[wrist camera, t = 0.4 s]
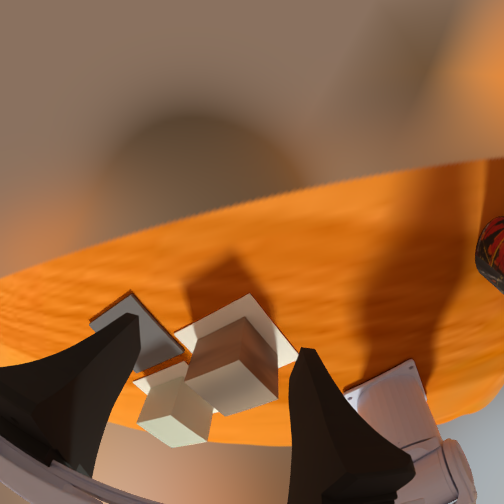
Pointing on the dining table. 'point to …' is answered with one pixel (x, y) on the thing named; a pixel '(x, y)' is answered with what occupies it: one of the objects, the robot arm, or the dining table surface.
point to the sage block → (176, 414)
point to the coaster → (142, 333)
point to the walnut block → (234, 368)
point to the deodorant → (492, 253)
